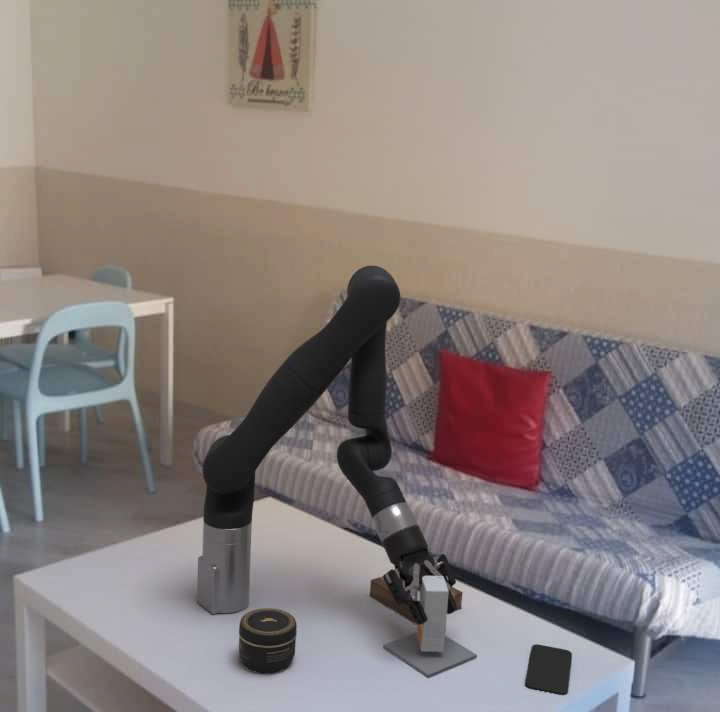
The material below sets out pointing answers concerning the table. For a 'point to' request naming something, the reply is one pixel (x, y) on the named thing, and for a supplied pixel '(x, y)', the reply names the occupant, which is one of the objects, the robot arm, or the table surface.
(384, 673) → the table surface
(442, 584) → the skincare box
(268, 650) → the jar
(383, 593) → the brown wooden rectangular frame
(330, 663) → the table surface
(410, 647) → the rubber mat
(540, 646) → the phone
